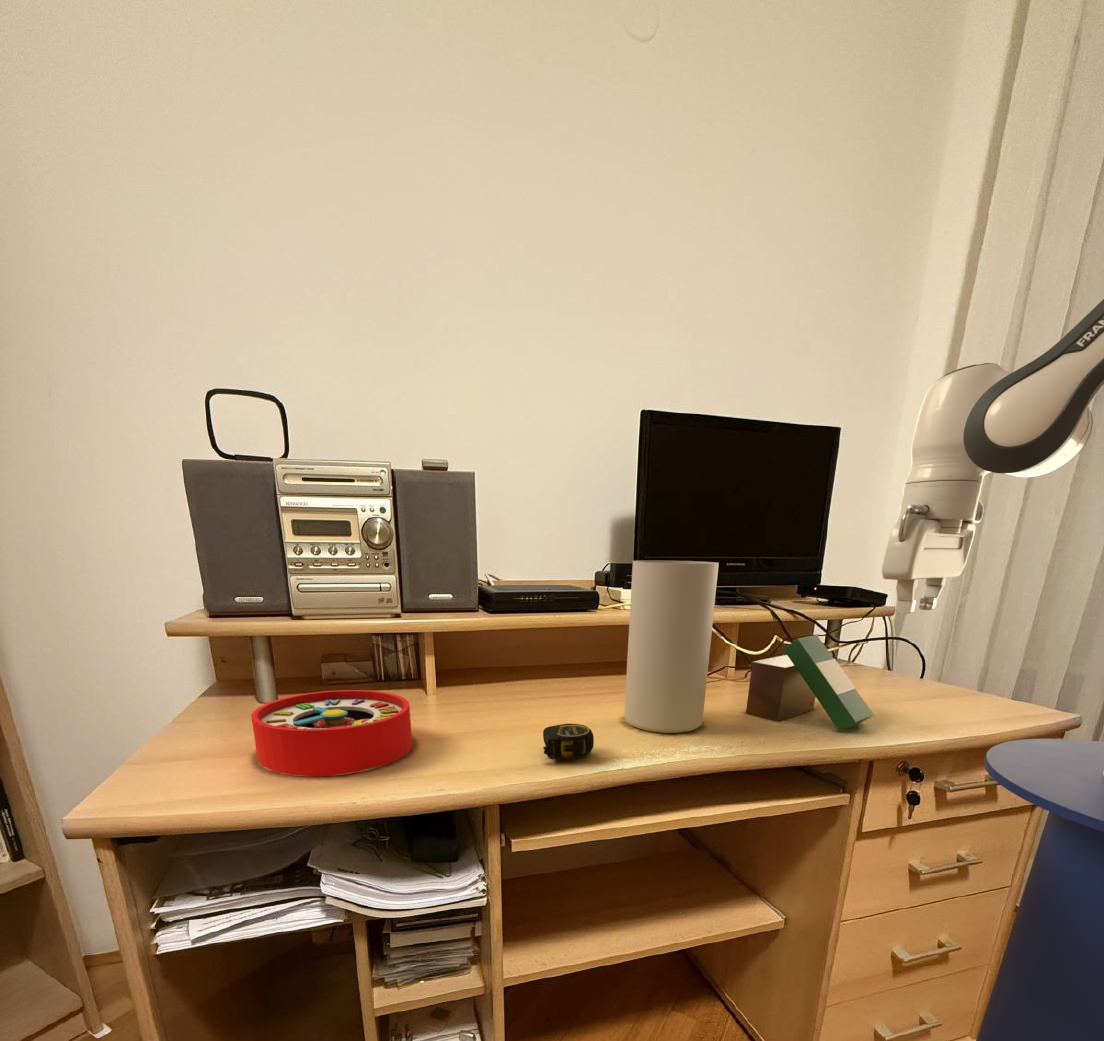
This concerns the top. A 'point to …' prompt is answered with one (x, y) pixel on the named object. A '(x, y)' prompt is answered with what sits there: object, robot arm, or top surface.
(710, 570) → the cylinder vase
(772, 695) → the block
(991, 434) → the robot arm
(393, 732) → the toy clock
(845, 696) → the block
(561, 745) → the tape measure
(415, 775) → the top surface
